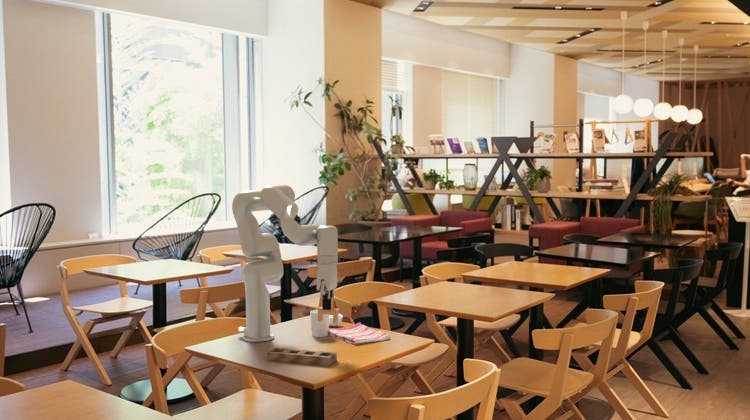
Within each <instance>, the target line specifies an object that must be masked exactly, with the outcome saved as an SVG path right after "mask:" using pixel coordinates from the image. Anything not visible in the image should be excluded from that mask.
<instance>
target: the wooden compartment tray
mask: <svg viewBox="0 0 750 420" xmlns="http://www.w3.org/2000/svg"><path fill="white" fill-rule="evenodd" d="M266 353H267V361H268V362H276V361H277V362H279V363H290V364H301V365H313V366H314V365H315V366H325V367H330V366H332V365H333V364H334V363H336V362H337V360H338V359H337V358H338V356H337V352H335V351H334V352H333V351H325V350H324V351H322V350H320V351H319V350H309V349H297V348H296V349H295V348H284V347H283V348H282V347H274V348H273V349H271V350H269V351H267V352H266Z"/></svg>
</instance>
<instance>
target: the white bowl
mask: <svg viewBox="0 0 750 420" xmlns="http://www.w3.org/2000/svg"><path fill="white" fill-rule="evenodd" d="M343 318H344V315H342V314H341V313H339V315H338V323H333V315H329V328H331V327H333V328H336V327H338V326H339V325H340V324H341V323H342V322H343V321H342V320H343Z"/></svg>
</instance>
